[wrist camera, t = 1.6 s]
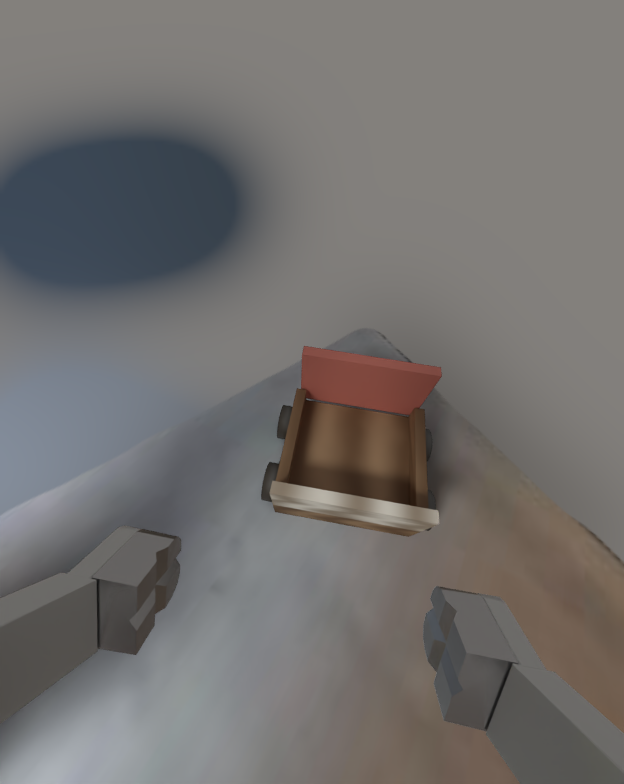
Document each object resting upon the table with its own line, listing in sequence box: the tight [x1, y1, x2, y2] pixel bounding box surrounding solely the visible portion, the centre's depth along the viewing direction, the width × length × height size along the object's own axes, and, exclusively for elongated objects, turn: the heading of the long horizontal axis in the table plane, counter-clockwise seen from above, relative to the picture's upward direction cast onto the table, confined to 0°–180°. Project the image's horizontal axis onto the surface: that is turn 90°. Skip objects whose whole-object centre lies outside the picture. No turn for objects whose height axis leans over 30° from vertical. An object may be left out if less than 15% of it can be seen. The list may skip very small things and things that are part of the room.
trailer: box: [261, 388, 439, 537], centre depth 36 cm, size 19×14×9 cm
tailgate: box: [301, 346, 442, 415], centre depth 37 cm, size 15×2×9 cm, turn 81°
